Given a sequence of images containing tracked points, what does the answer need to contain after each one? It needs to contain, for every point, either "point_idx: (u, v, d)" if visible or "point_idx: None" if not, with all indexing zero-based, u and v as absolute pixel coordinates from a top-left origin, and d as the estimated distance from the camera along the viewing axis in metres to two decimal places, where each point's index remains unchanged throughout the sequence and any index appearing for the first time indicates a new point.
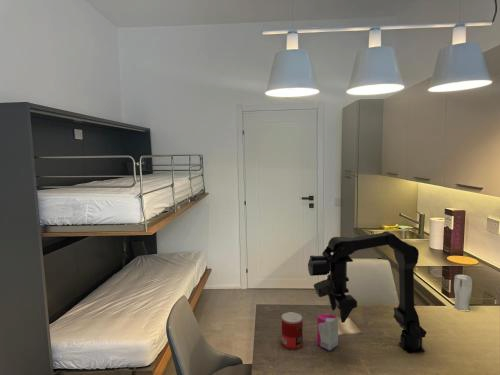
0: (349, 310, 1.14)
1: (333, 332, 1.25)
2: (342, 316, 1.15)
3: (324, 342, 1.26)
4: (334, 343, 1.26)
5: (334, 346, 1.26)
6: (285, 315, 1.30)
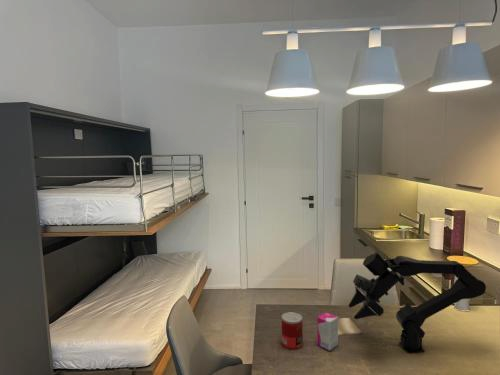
0: (369, 314, 1.19)
1: (333, 332, 1.25)
2: (359, 313, 1.20)
3: (324, 342, 1.26)
4: (334, 343, 1.26)
5: (334, 346, 1.26)
6: (285, 315, 1.30)
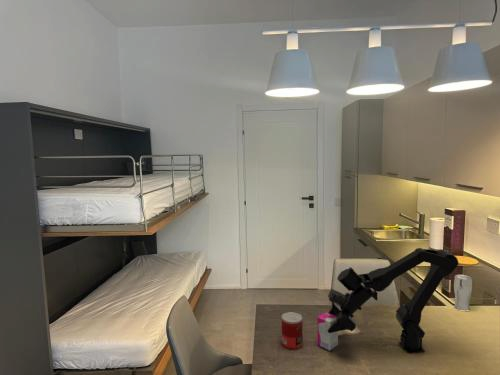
0: (342, 328, 1.21)
1: (333, 332, 1.25)
2: (332, 327, 1.22)
3: (324, 342, 1.26)
4: (334, 343, 1.26)
5: (334, 346, 1.26)
6: (285, 315, 1.30)
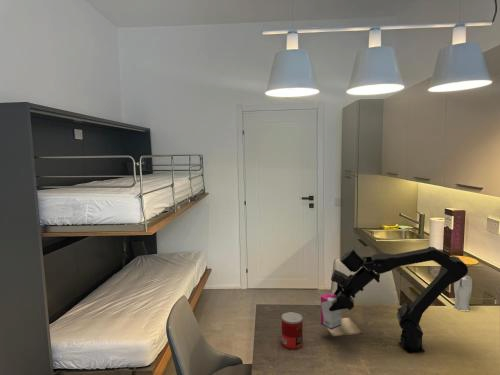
0: (342, 307, 1.25)
1: (335, 311, 1.30)
2: (333, 306, 1.27)
3: (326, 320, 1.31)
4: (337, 322, 1.30)
5: (336, 325, 1.30)
6: (285, 315, 1.30)
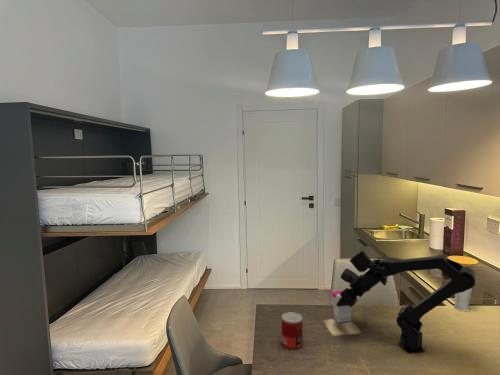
0: (346, 304, 1.33)
1: (344, 308, 1.37)
2: (340, 301, 1.35)
3: (335, 314, 1.39)
4: (345, 318, 1.38)
5: (345, 321, 1.38)
6: (285, 315, 1.30)
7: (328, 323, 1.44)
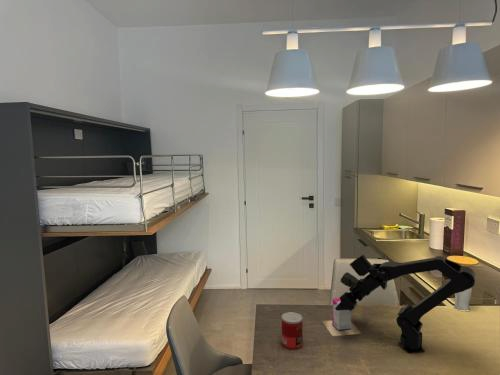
0: (345, 308, 1.32)
1: (344, 315, 1.38)
2: (339, 305, 1.35)
3: (335, 322, 1.40)
4: (345, 325, 1.38)
5: (345, 328, 1.38)
6: (285, 315, 1.30)
7: (328, 324, 1.44)
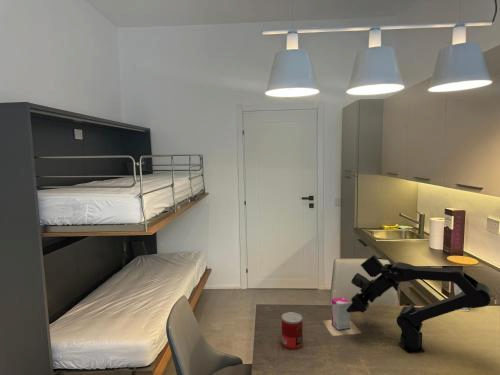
0: (357, 309, 1.30)
1: (343, 315, 1.38)
2: (350, 307, 1.32)
3: (335, 321, 1.40)
4: (345, 325, 1.38)
5: (344, 328, 1.38)
6: (285, 315, 1.30)
7: (328, 323, 1.44)
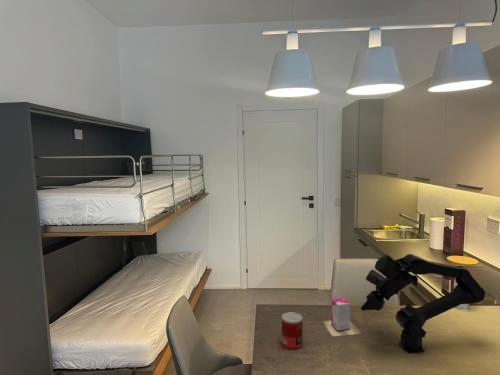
0: (372, 308, 1.24)
1: (343, 315, 1.38)
2: (364, 305, 1.26)
3: (334, 322, 1.40)
4: (344, 326, 1.38)
5: (344, 328, 1.38)
6: (285, 315, 1.30)
7: (328, 324, 1.44)
